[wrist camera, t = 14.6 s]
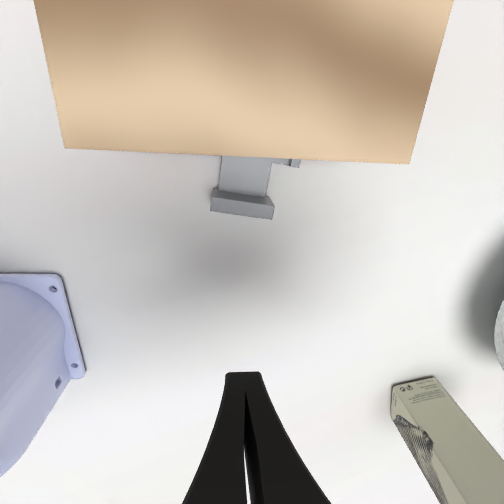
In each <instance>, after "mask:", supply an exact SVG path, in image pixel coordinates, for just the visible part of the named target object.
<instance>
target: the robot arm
mask: <svg viewBox="0 0 504 504" xmlns="http://www.w3.org/2000/svg"><path fill="white" fill-rule="evenodd" d="M52 286H54V287H56V288H57V289H54V288H53V287H52ZM75 363H76V364H75ZM84 374H85V367H84V363H83V360H82V356H81V352H80V348H79V344H78V341H77V337H76V333H75V329H74V325H73V321H72V318H71V314H70V310H69V306H68V302H67V299H66V295H65V291H64V287H63V283H62V280H61V278H60V277H59V276H58V275H55V274H0V477H1V476H2V475H3V474H5V473H6V472H7V471H8V470H9V469H10V468H11V467H12V466H13V465H14V464H15V463H16V462H17V461H18V460H19V459H20V457H21V456H22V455H23V454H24V452H25V451H26V449H27V448H28V446H29V445H30V443H31V442H32V440H33V438H34V437H35V435H36V434H37V432H38V430H39V429H40V427H41V426H42V424H43V422H44V421H45V419H46V418H47V416H48V414H49V413H50V411H51V409H52V408H53V406H54V405H55V403H56V401H57V400H58V398H59V397H60V395H61V393H62V392H63V390H64V389H65V387H66V385H67V384H68V382H69V381H70V379H80V378H82V377H83V376H84ZM244 451H245V459H246V467H247V475H248V484H249V492H250V500H251V504H331V502H330V501H329V500H328V498H327V497H326V496H325V494H324V493H323V491H322V490H321V488H320V487H319V485H318V484H317V482H316V481H315V480H314V478H313V477H312V475H311V473H310V472H309V470H308V469H307V467H306V466H305V464H304V462H303V461H302V459H301V457H300V456H299V454H298V452H297V451H296V449H295V447H294V445H293V444H292V442H291V440H290V438H289V436H288V435H287V433H286V431H285V429H284V427H283V425H282V423H281V421H280V419H279V417H278V415H277V413H276V411H275V409H274V407H273V404H272V402H271V400H270V397H269V395H268V393H267V390H266V387H265V385H264V382H263V379H262V375H261V373H260V372H228V373H227V374H226V376H225V386H224V391H223V396H222V400H221V404H220V408H219V411H218V415H217V418H216V421H215V425H214V428H213V431H212V433H211V436H210V439H209V442H208V444H207V447H206V450H205V453H204V455H203V458H202V460H201V463H200V465H199V467H198V470H197V472H196V474H195V477H194V479H193V481H192V484H191V486H190V488H189V490H188V492H187V494H186V496H185V499H184V501H183V503H182V504H247V495H246V481H245V466H244Z"/></svg>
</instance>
